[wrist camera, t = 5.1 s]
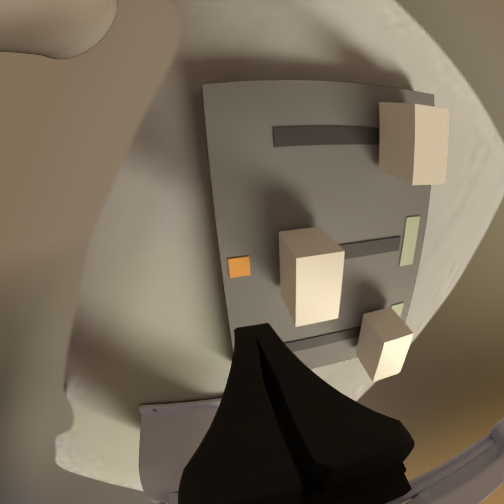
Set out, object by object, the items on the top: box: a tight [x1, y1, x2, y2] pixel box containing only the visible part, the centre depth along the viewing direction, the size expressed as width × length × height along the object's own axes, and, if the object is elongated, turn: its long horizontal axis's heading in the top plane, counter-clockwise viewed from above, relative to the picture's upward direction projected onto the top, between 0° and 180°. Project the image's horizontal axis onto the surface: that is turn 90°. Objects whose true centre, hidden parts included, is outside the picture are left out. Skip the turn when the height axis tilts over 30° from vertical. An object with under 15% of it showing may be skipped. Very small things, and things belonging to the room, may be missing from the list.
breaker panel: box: [202, 80, 434, 369], centre depth 19 cm, size 14×20×2 cm
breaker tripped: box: [279, 227, 345, 327], centre depth 16 cm, size 2×4×3 cm, turn 4°
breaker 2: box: [379, 102, 449, 185], centre depth 14 cm, size 2×4×3 cm, turn 4°
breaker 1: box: [356, 307, 413, 382], centre depth 20 cm, size 2×4×3 cm, turn 3°
